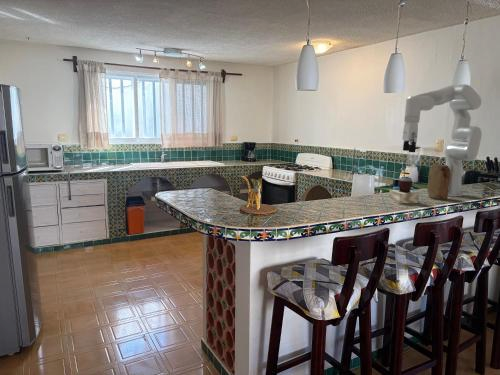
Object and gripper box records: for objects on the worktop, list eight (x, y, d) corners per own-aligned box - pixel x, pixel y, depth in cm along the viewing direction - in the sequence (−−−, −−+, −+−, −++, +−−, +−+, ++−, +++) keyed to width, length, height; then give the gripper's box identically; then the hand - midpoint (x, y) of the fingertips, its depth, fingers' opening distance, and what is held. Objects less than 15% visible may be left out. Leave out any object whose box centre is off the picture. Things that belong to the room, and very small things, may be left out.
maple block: (406, 199, 213) (407, 189, 211) (417, 204, 202) (418, 193, 201) (388, 200, 211) (389, 189, 210) (399, 204, 200) (400, 193, 199)
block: (425, 196, 220) (428, 163, 216) (434, 196, 222) (438, 163, 219) (440, 200, 210) (444, 166, 206) (449, 200, 212) (454, 165, 209)
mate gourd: (408, 190, 209) (410, 164, 206) (414, 193, 201) (417, 166, 198) (395, 190, 209) (397, 164, 206) (401, 193, 201) (403, 166, 198)
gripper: (399, 119, 207) (397, 149, 210) (410, 119, 190) (407, 152, 193) (413, 119, 206) (410, 150, 210) (425, 120, 189) (421, 153, 193)
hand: (408, 151), depth 201 cm, fingers open, 9 cm apart
